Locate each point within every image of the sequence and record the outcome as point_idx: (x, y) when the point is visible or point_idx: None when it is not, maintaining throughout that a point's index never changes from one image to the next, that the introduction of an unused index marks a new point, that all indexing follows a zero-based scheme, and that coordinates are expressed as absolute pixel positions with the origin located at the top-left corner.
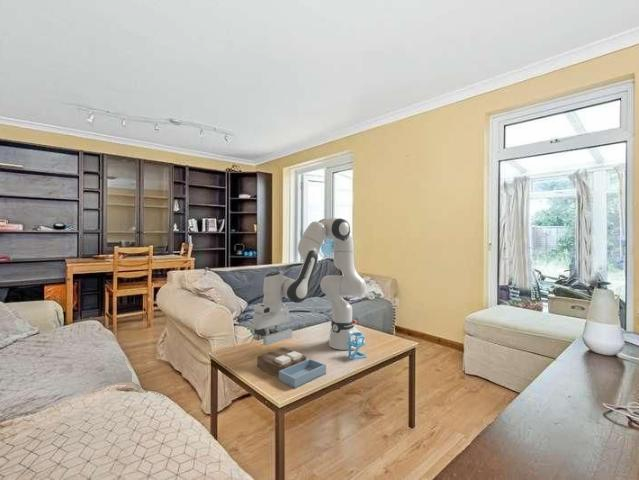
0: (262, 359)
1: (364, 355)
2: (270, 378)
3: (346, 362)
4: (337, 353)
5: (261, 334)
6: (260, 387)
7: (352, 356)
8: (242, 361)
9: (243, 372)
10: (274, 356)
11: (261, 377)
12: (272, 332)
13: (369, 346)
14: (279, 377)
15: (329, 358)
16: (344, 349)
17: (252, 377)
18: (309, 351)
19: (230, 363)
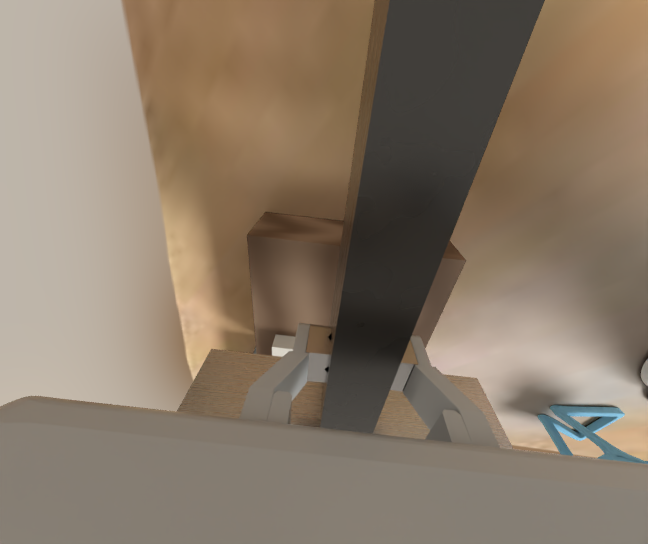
0: (252, 274)
1: (577, 437)
2: (245, 316)
3: (503, 411)
4: (590, 372)
5: (348, 192)
6: (186, 328)
7: (547, 425)
8: (242, 66)
9: (182, 204)
10: (316, 302)
11: (224, 290)
12: (323, 402)
13: None
14: (255, 351)
15: (519, 371)
16: (644, 381)
17: (195, 267)
18: (585, 284)
19: (158, 17)
